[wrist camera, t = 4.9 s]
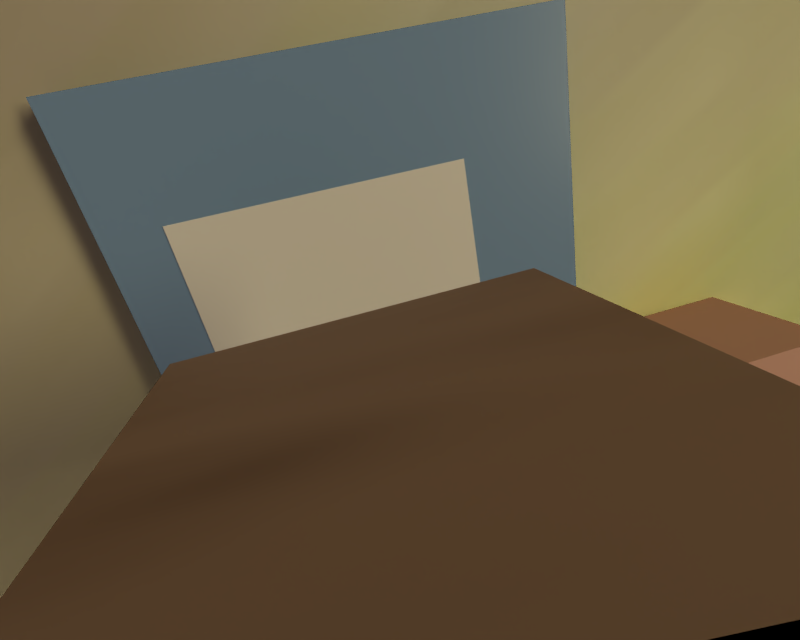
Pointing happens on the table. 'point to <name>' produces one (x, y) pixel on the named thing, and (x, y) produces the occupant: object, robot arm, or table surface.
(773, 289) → the table surface
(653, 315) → the terracotta block
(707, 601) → the walnut block
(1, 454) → the table surface
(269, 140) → the mat
